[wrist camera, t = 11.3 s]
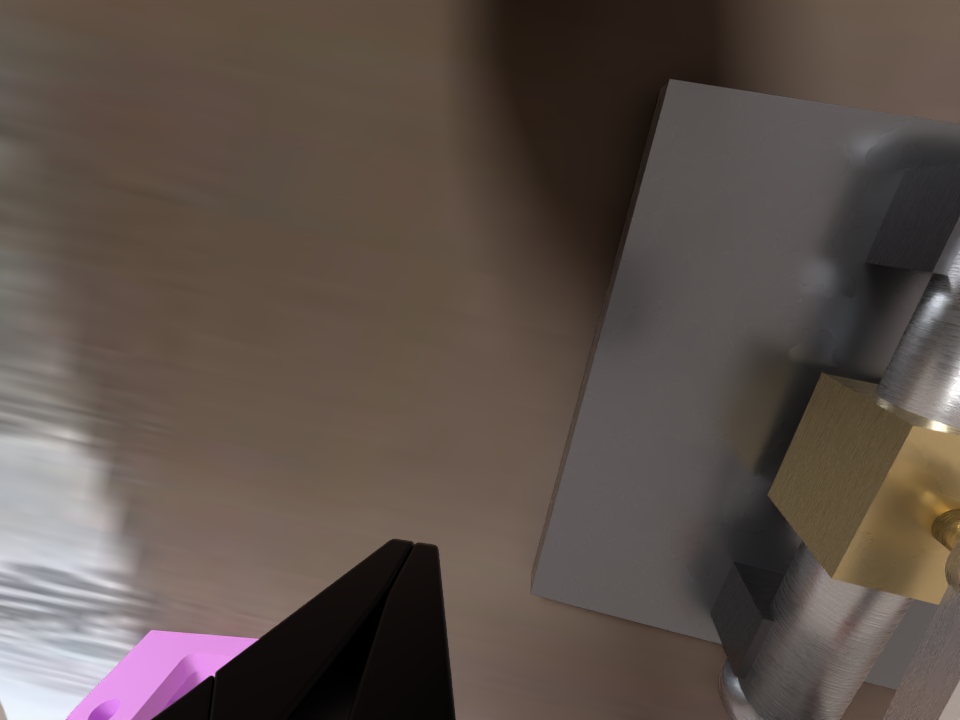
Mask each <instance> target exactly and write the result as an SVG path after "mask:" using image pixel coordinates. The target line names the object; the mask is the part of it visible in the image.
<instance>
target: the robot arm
mask: <svg viewBox="0 0 960 720" xmlns="http://www.w3.org/2000/svg"><path fill="white" fill-rule="evenodd" d="M150 720H456V717H455V708H454V698H453V688H452V678H451V668H450V658H449V648H448V638H447V629H446V619H445V609H444V599H443V589H442V579H441V569H440V559H439V550H438V547H437V546H436V545H433V544H426V543H416V544H414V543H413V542H412V541H407V540H400V539H392V540H390V541H388V542H387V543H386V544H384V545H383V546H382V547H380V548H379V549H378V550H376V551H375V552H374V553H372V554H371V555H370V556H368V557H367V558H366V559H364V560H363V561H362V562H360V563H359V564H358V565H356V566H355V567H354V568H352V569H351V570H350V571H348V572H347V573H346V574H344V575H343V576H342V577H341V578H339V579H338V580H337V581H335V582H334V583H333V584H331V585H330V586H329V587H327V588H326V589H325V590H323V591H322V592H321V593H319V594H318V595H317V596H315V597H314V598H313V599H311V600H310V601H309V602H307V603H306V604H305V605H303V606H302V607H301V608H299V609H298V610H297V611H295V612H294V613H293V614H291V615H290V616H289V617H287V618H286V619H285V620H283V621H282V622H281V623H279V624H278V625H277V626H275V627H274V628H273V629H271V630H270V631H269V632H267V633H266V634H265V635H263V636H262V637H261V638H260V639H258V640H257V641H256V642H254V643H253V644H252V645H250V646H249V647H248V648H246V649H245V650H244V651H242V652H241V653H240V654H238V655H237V656H236V657H234V658H233V659H232V660H230V661H229V662H228V663H226V664H225V665H224V666H222V667H221V668H220V669H218V670H217V671H216V672H215V677H214V676H212V675H211V676H209V677H207V678H206V679H205V680H203V681H202V682H201V683H199V684H198V685H197V686H195V687H194V688H193V689H191V690H190V691H189V692H187V693H186V694H185V695H183V696H182V697H181V698H179V699H178V700H177V701H175V702H174V703H172V704H171V705H170V706H168V707H167V708H165V709H164V710H163V711H161V712H160V713H159V714H157V715H156V716H154V717H153V718H152V719H150Z"/></svg>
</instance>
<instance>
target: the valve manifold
mask: <svg viewBox="0 0 960 720" xmlns="http://www.w3.org/2000/svg"><path fill="white" fill-rule="evenodd" d="M959 542H960V124H956V123H950V122H943V121H937V120H930V119H924V118H918V117H911V116H905V115H898V114H892V113H885V112H879V111H873V110H866V109H860V108H853V107H847V106H840V105H834V104H828V103H821V102H815V101H808V100H802V99H795V98H789V97H783V96H776V95H770V94H763V93H757V92H750V91H744V90H738V89H731V88H725V87H718V86H712V85H705V84H699V83H693V82H686V81H680V80H673V79H669V81H668V82H667V83H666V84H665V85H664V86H663V88H662V89H661V90H660V92H659V96H658V100H657V103H656V107H655V111H654V115H653V118H652V122H651V126H650V130H649V133H648V137H647V141H646V145H645V148H644V152H643V156H642V160H641V164H640V167H639V171H638V175H637V179H636V182H635V186H634V190H633V194H632V197H631V201H630V205H629V209H628V212H627V216H626V220H625V224H624V227H623V231H622V235H621V239H620V242H619V246H618V250H617V254H616V257H615V261H614V265H613V269H612V272H611V276H610V280H609V284H608V287H607V291H606V295H605V299H604V302H603V306H602V310H601V314H600V318H599V321H598V325H597V329H596V333H595V336H594V340H593V344H592V348H591V351H590V355H589V359H588V363H587V366H586V370H585V374H584V378H583V381H582V385H581V389H580V393H579V396H578V400H577V404H576V408H575V411H574V415H573V419H572V423H571V426H570V430H569V434H568V438H567V441H566V445H565V449H564V453H563V456H562V460H561V464H560V468H559V472H558V475H557V479H556V483H555V487H554V490H553V494H552V498H551V502H550V505H549V509H548V513H547V517H546V520H545V524H544V528H543V532H542V535H541V539H540V543H539V547H538V550H537V554H536V558H535V562H534V565H533V569H532V577H531V595H535V596H539V597H543V598H546V599H550V600H554V601H558V602H562V603H566V604H569V605H573V606H577V607H581V608H585V609H588V610H592V611H596V612H600V613H604V614H608V615H611V616H615V617H619V618H623V619H627V620H630V621H634V622H638V623H642V624H646V625H650V626H653V627H657V628H661V629H665V630H669V631H673V632H676V633H680V634H684V635H688V636H692V637H695V638H699V639H703V640H707V641H711V642H715V643H718V644H722V645H723V648H724V650H725V653H726V655H727V660H726V663H725V665H724V667H723V669H722V671H721V673H720V675H719V679H718V688H719V694H720V697H721V700H722V703H723V705H724V707H725V709H726V711H727V713H728V714H729V716H730V718H731V719H732V720H841V717H842V716H843V714H844V712H845V711H846V709H847V708H848V706H849V704H850V703H851V701H852V699H853V698H854V696H855V695H856V693H857V691H858V690H859V688H860V686H861V685H862V683H863V682H867V683H871V684H875V685H879V686H883V687H887V688H890V689H894V690H897V689H898V687H899V685H900V683H901V681H902V679H903V677H904V675H905V673H906V671H907V668H908V666H909V664H910V662H911V660H912V658H913V656H914V654H915V652H916V650H917V648H918V646H919V644H920V642H921V640H922V638H923V636H924V634H925V632H926V630H927V628H928V626H929V624H930V622H931V620H932V617H933V615H934V613H935V611H936V609H937V607H938V605H939V603H940V601H941V599H942V597H943V595H944V593H945V591H946V589H947V587H948V583H947V580H946V576H945V565H946V561H947V558H948V556H949V554H950V552H951V551H952V549H953V548H954V547H955V546H956V545H957V544H958V543H959Z"/></svg>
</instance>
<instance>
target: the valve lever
mask: <svg viewBox="0 0 960 720" xmlns="http://www.w3.org/2000/svg"><path fill="white" fill-rule="evenodd" d="M945 576H946V580H947V583H948V587H947V589H946V591H945V593H944V595H943V597H942V599H941V601H940V603H939V605H938V607H937V609H936V611H935V613H934V615H933V617H932V620H931V622H930V624H929V626H928V628H927V630H926V632H925V634H924V636H923V638H922V640H921V642H920V644H919V646H918V648H917V650H916V652H915V654H914V656H913V658H912V660H911V662H910V664H909V666H908V668H907V671H906V673H905V675H904V677H903V679H902V681H901V683H900V685H899V687H898V689H897V691H896V693H895V695H894V697H893V699H892V701H891V703H890V705H889V707H888V709H887V711H886V713H885V715H884V717H883V720H960V542H959V543H958V544H957V545H956V546H955V547H954V548H953V549H952V551H951V552H950V554H949V556H948V558H947V561H946V565H945Z"/></svg>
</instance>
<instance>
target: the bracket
mask: <svg viewBox="0 0 960 720" xmlns="http://www.w3.org/2000/svg"><path fill="white" fill-rule="evenodd" d="M257 640H258V639H253V638H241V637H229V636H217V635H204V634H192V633H180V632H167V631H155V630H151V631H150V632H149V633H148V634H147V635H146V636H145V637H144V638H143V639H142V640H141V641H140V642H139V643H138V644H137V645H136V646H135V647H134V648H133V649H132V650H131V651H130V652H129V653H128V654H127V656H126V657H125V658H124V659H123V660H122V661H121V662H120V663H119V664H118V665H117V666H116V667H115V668H114V669H113V670H112V671H111V672H110V673H109V674H108V675H107V676H106V677H105V678H104V679H103V680H102V681H101V682H100V683H99V684H98V685H97V686H96V687H95V688H94V689H93V690H92V691H91V692H90V693H89V695H88V696H87V697H86V698H85V699H84V700H83V701H82V702H81V703H80V704H79V705H78V706H77V707H76V708H75V709H74V710H73V711H72V712H71V713H70V715H69V716H68V717H67V718H66V720H150V719H152V718H153V717H154V716H156V715H157V714H159V713H160V712H161V711H163V710H164V709H165V708H167V707H168V706H170V705H171V704H172V703H174V702H175V701H177V700H178V699H179V698H181V697H182V696H183V695H185V694H186V693H187V692H189V691H190V690H191V689H193V688H194V687H195V686H197V685H198V684H199V683H201V682H202V681H203V680H205V679H206V678H207V677H209V676H211V675H212V676H214V677H215V672H216V671H217V670H218V669H220V668H221V667H222V666H224V665H225V664H226V663H228V662H229V661H230V660H232V659H233V658H234V657H236V656H237V655H238V654H240V653H241V652H242V651H244V650H245V649H246V648H248V647H249V646H250V645H252V644H253V643H254V642H256V641H257Z"/></svg>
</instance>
